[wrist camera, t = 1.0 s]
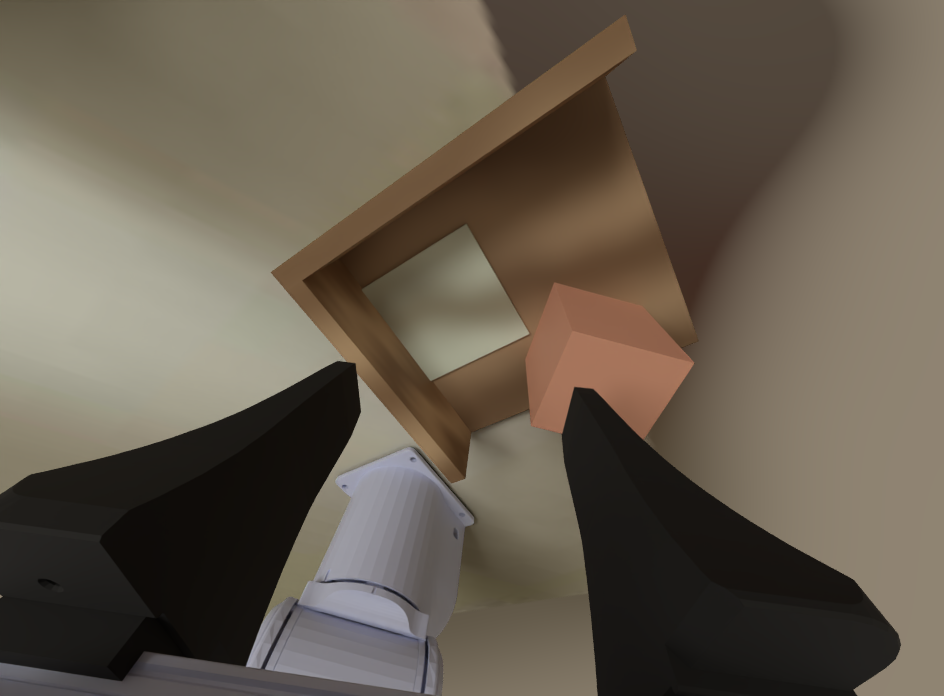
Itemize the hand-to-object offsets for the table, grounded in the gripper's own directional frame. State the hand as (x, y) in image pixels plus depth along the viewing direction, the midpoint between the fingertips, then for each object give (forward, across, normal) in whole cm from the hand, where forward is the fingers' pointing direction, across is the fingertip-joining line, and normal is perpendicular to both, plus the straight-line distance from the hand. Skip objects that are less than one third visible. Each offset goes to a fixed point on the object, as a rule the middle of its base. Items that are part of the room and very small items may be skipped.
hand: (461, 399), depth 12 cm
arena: (+10, -2, 0) cm, 10 cm away
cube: (+9, -6, +1) cm, 11 cm away
